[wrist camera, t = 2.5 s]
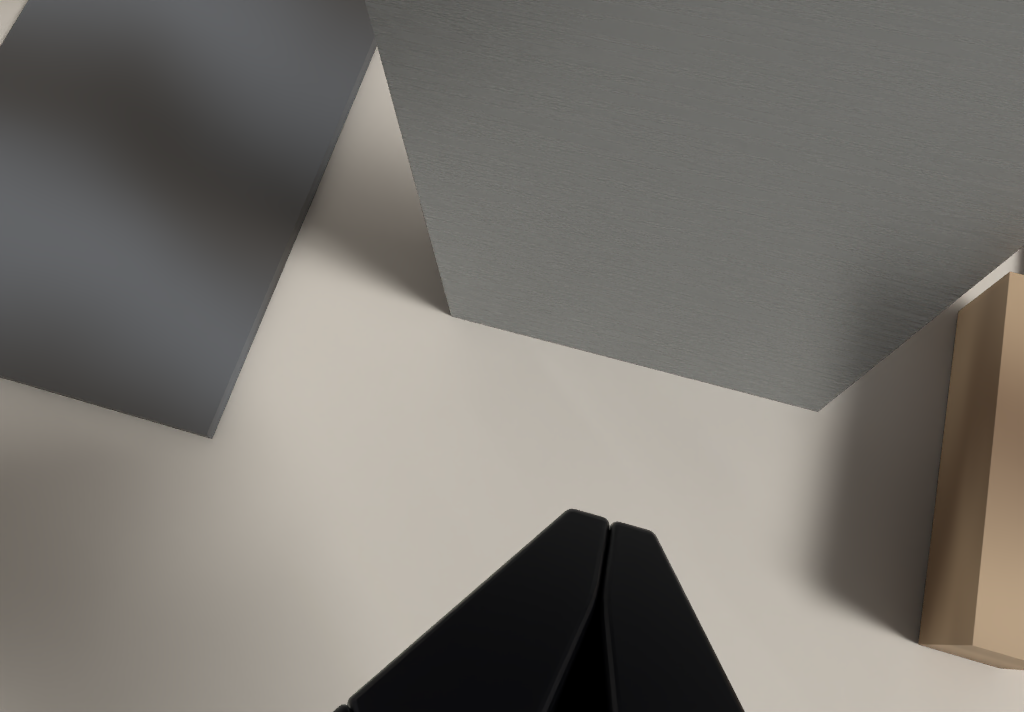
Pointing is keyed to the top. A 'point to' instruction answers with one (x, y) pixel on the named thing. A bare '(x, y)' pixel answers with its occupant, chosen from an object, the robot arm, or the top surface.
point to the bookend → (713, 173)
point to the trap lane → (275, 225)
